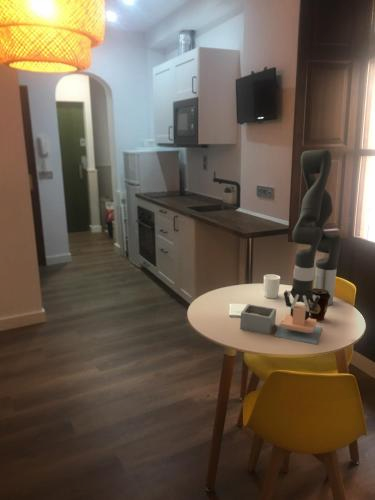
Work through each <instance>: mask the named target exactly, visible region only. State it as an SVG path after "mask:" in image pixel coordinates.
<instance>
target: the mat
mask: <svg viewBox="0 0 375 500" xmlns="http://www.w3.org/2000/svg"><path fill="white" fill-rule="evenodd" d="M283 320H284V319H283ZM283 320H282V321H281V322H280V324H279V326H278V328H277V330H276V332H275V333H274V335H273V336H274V337H277V338H281V339H285V340H286V339H287V340H291V341H297V342H302V343H306V344H312V345H316V346H317V345H318V342H319V339H320V336H321V332H322V327H319V326H317V325H315V328H314V331H313V333H312V332H310V333H305V332H299V331H294V330H289V329H285V327H281V324H282V322H283Z"/></svg>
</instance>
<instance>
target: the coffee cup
mask: <svg viewBox="0 0 375 500" xmlns="http://www.w3.org/2000/svg"><path fill="white" fill-rule="evenodd" d="M312 292H313V294H314V295H316V296H317V295H319V296H320V298H319V301H318V303H317V305H316V307H315V310H314V311H310V316H309V318H310V319H316V320H317V321H316V323H317V322H318V323H323V322H325V316H326V314H327V310H328V307H329V305H328V301H329V299H330V294H329V292H328V291H327V290H324V289H318V288H314V287H313V288H312ZM309 304H310V307H311V306H313V304H314V300H313V297H312V298H311V299H310V300H309Z"/></svg>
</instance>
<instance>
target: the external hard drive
mask: <svg viewBox="0 0 375 500" xmlns="http://www.w3.org/2000/svg"><path fill="white" fill-rule="evenodd" d="M247 304H248V303H247ZM247 304H245V303H229V308H230V309H229V311H228V317H229V318H230V317H231V318H241V312H242V311H243V310H244V308H245V307H246V306H247Z"/></svg>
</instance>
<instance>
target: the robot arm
mask: <svg viewBox="0 0 375 500" xmlns="http://www.w3.org/2000/svg"><path fill="white" fill-rule="evenodd" d="M300 165H301V170H302V175H303V178H304V182H305V186H306V191H307V192H306V193H305V195H304V197H303V198H302V200H301V201H302V202H301V209H300V214H299V218H298V220H297V222H296V224H295V226H294V228H293V231H292V235H291V239H292V240H293V242H294V243H295V244H298V245H308V246H310V247H308V248H304V249H299V250H297V251H296V252H295V258H294V269H293V273H292V284H291V285H292V288H291V290H285V291H284V292H283V297H284V301H285V306H286V307H289V308H290V314H289V315H291V316H292V318H293V309H294V307H295V305H296V304H297V303H302V304H303V305H305V307H306V315H305V320H307V319H308V318H309V316H310V311H314V310H315V307H316V305H317V303H318V301H319V298H320V296H319V295H317V296H316V295H314V294H313V292H312V289H313V288H318V289H324V290H327V291H328V292H329V294H330V299H329V301H328V306H331V305H334V304H333V303H334V296H335V289H336V288H335V286H336V277H337V270H338V269H337V268H338V263H339V258H340V257H339V256H340V251H341V246H342V245H341V244H342V238H341V236H340V235H339V234H338V233H337V234H336V233H331V232H326V231H324V226H325V225H326V222H327V221H328V220H329V219H330V217H331V216H332V214H333V208H334V207H333V201H332V196H331V194H330V193H329V192H328V190H326V186H327V183H328V179H329V175H330V172H331V167H332V153H331V152H330V150H329V149H326V148H325V149H324V148H323V149H314V150H313V149H312V150H306V151H303V152H302V154H301V156H300ZM316 174H318V177H317V178H316V176H315V175H316ZM308 224H312V225H308ZM317 252H319V253H324V254H328V257H324V258H318V259H317V260H316V262H315V259H316V253H317ZM314 267H315V268H314ZM291 296H292V298H293V301H292V302H291V300H290V297H291ZM312 297H313V300H314V304H313V306H311V307H310V304H309V300H310V299H311V298H312Z"/></svg>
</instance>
